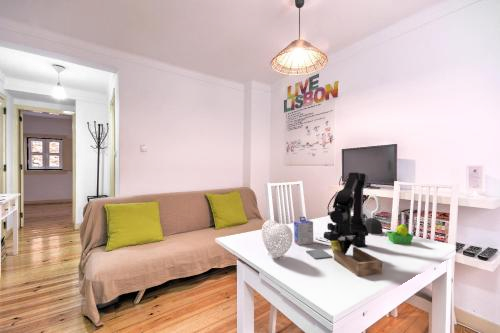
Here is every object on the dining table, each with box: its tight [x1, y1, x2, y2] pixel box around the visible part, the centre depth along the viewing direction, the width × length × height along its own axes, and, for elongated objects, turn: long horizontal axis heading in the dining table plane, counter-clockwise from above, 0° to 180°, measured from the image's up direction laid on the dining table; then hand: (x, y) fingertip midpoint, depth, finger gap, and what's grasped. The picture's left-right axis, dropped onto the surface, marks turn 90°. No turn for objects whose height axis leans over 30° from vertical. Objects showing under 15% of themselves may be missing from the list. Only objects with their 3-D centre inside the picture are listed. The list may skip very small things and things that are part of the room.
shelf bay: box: [333, 246, 383, 277], centre depth 98 cm, size 11×16×5 cm
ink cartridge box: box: [293, 216, 314, 246], centre depth 127 cm, size 10×6×14 cm, turn 108°
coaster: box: [305, 248, 333, 260], centre depth 110 cm, size 9×9×1 cm
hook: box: [365, 194, 384, 236], centre depth 146 cm, size 11×11×25 cm
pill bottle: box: [329, 230, 343, 255], centre depth 110 cm, size 6×6×12 cm
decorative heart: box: [261, 219, 294, 262], centre depth 106 cm, size 18×11×17 cm, turn 35°
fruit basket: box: [386, 223, 414, 245], centre depth 128 cm, size 11×9×11 cm
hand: (344, 253), depth 105 cm, fingers closed, pressing on pill bottle
